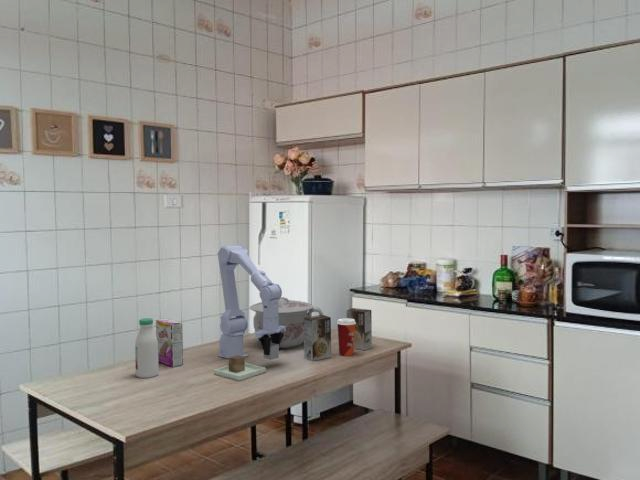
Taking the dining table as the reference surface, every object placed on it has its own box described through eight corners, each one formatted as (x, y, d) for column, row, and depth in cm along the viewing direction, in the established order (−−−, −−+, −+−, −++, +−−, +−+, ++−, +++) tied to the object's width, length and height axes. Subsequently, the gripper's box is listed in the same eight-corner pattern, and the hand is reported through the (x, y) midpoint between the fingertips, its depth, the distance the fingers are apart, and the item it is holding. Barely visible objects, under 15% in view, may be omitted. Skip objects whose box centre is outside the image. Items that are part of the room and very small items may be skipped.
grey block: (263, 357, 210) (263, 344, 210) (270, 355, 214) (270, 342, 213) (271, 359, 208) (271, 346, 208) (278, 357, 211) (278, 344, 211)
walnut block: (228, 370, 203) (228, 357, 203) (237, 368, 207) (236, 354, 206) (236, 372, 201) (236, 358, 201) (244, 370, 204) (244, 356, 204)
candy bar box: (155, 362, 217) (155, 319, 216) (167, 359, 221) (166, 318, 220) (172, 367, 209) (171, 323, 209) (183, 365, 213) (182, 321, 212)
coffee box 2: (372, 347, 238) (372, 309, 238) (365, 350, 233) (365, 312, 232) (353, 344, 243) (353, 307, 243) (346, 347, 238) (345, 309, 237)
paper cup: (354, 357, 223) (354, 322, 222) (335, 356, 225) (335, 321, 224) (357, 352, 231) (357, 318, 230) (338, 351, 232) (338, 317, 231)
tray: (213, 374, 201) (213, 369, 201) (240, 366, 211) (240, 361, 211) (239, 381, 193) (239, 376, 193) (265, 372, 203) (265, 367, 203)
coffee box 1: (322, 354, 228) (322, 314, 227) (331, 357, 223) (331, 316, 222) (303, 357, 223) (303, 316, 222) (312, 361, 218) (312, 319, 217)
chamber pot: (236, 345, 243) (235, 297, 242) (282, 334, 263) (281, 290, 262) (283, 356, 224) (282, 304, 223) (328, 344, 245) (327, 296, 244)
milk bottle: (163, 373, 203) (161, 317, 202) (149, 379, 196) (148, 321, 194) (144, 371, 205) (143, 316, 204) (131, 377, 198) (129, 320, 197)
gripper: (264, 321, 202) (265, 359, 203) (291, 315, 213) (291, 351, 214) (250, 319, 206) (251, 356, 207) (278, 313, 217) (278, 348, 218)
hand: (270, 353), depth 211 cm, fingers closed on grey block, 4 cm apart
